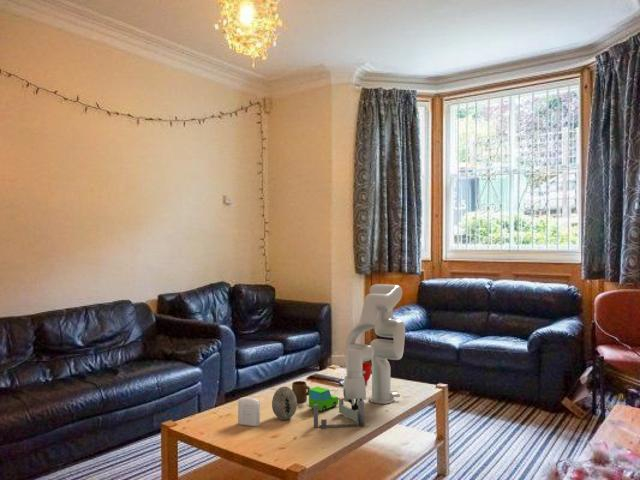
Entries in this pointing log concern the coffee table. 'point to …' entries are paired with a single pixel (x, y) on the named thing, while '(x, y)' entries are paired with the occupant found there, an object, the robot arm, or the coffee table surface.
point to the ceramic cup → (366, 371)
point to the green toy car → (322, 398)
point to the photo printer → (249, 411)
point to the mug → (300, 391)
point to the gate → (347, 410)
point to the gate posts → (324, 424)
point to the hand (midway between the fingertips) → (355, 412)
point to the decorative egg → (284, 403)
